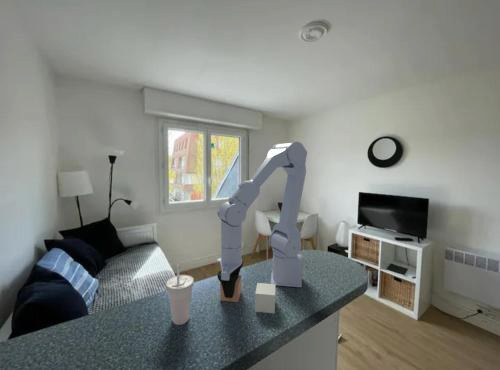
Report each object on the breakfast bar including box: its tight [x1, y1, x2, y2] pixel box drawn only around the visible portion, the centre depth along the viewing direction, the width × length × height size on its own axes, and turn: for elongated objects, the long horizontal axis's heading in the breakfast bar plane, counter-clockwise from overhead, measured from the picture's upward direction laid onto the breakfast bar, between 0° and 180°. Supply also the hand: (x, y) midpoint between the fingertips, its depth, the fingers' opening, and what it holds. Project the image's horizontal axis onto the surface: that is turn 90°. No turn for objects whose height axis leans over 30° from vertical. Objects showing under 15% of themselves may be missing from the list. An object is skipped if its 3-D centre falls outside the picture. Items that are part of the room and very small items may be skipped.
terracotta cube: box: [219, 274, 242, 303], centre depth 63 cm, size 5×5×5 cm
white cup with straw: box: [165, 264, 195, 326], centre depth 53 cm, size 6×6×14 cm
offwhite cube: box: [254, 282, 276, 314], centre depth 58 cm, size 5×5×5 cm
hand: (231, 291), depth 63 cm, fingers closed on terracotta cube, 5 cm apart
